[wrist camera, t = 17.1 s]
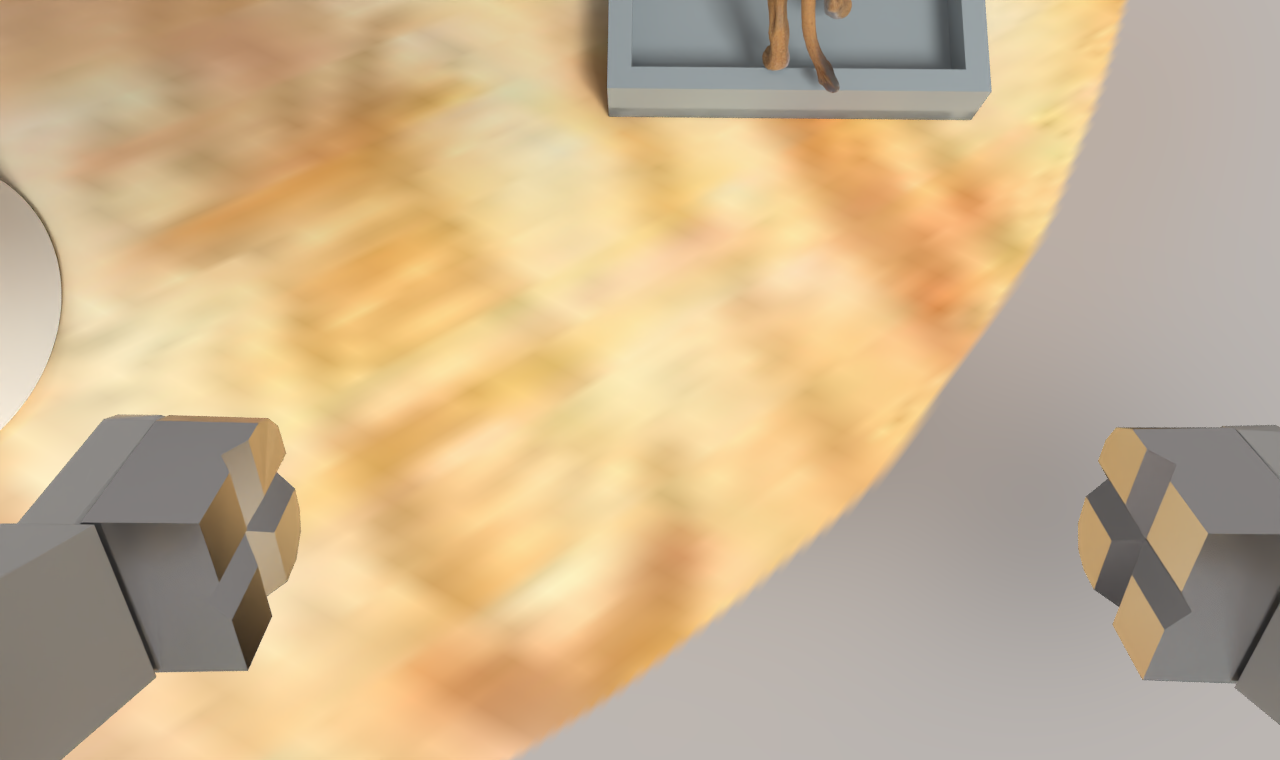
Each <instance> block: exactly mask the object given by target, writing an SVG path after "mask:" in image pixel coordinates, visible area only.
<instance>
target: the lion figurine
mask: <svg viewBox="0 0 1280 760" xmlns="http://www.w3.org/2000/svg"><path fill="white" fill-rule="evenodd" d="M767 1H768V10H769V32H768V34H769V40H770V45H769V46H767V48H766V49H765V51H764V52H763V55H762V60H763V64H764V66H765V68H767V69H768V70H772V71H776V70H782V69H784V68H786V67H787V66H788V64H789V60H790V53H789V49H788V45H789V35H790V34H789V23H788V19H787V0H767ZM815 5H816V0H801V19H802V31H803V37H804V40H805V44H806V48H807V51H808V53H809V55H810V58H811V60H812V62H813V64H814V66H815V69H816V71H817V76H818V82H819V84H821V85H822V86H823V87H824V88H825V89H826V91H828V92H830V93H836V92H838V91H839V89H840V86H839V82H838V80H837V78H836V76H835V74H834V70H833V67H832V65H831V63H830V62H829V61H828V60H827V59H826V57H825V56H824V54H823V52H822V50H821V48H820V45H819V42H818V39H817V33H816V20H815ZM851 8H852V1H851V0H824V12H825V14H826V15H827V16H829V17H831V18H833V19H843V18H845V17H846V16H848V14H849V13H850V11H851Z"/></svg>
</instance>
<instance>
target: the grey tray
mask: <svg viewBox="0 0 1280 760" xmlns="http://www.w3.org/2000/svg"><path fill="white" fill-rule="evenodd" d="M851 1H852V8H851V11H850V13H849V14H848V16H846V17H845V18H843V19H833V18H831V17H829V16H827V15H826V14H825V12H824V0H816V5H815V20H816V33H817V39H818V42H819V45H820V48H821V50H822V52H823V54H824V56H825V57H826V59H827V60H828V61H829V62H830V63H831V65H832V67H833V70H834V74H835V76H836V78H837V80H838V82H839V86H840V89H839V91H838V92H836V93H830V92H828V91H826V89H825V88H824V87H823V86H822V85H821V84H819V82H818V76H817V71H816V69H815V66H814V64H813V62H812V60H811V58H810V55H809V53H808V51H807V48H806V44H805V40H804V37H803V31H802V19H801V0H787V19H788V23H789V34H790V35H789V45H788V49H789V53H790V60H789V64H788V66H787V67H786V68H784V69H782V70H776V71H772V70H768V69H767V68H765V66H764V64H763V60H762V55H763V52H764V51H765V49H766V48H767V46H769V45H770V40H769V34H768V32H769V10H768V1H767V0H609V13H608V69H607V94H608V109H609V117H709V118H817V119H925V120H971V119H972V118H973V116H974V115H975V114H976V112H977V111H978V110H979V108H980V107H981V105H982V104H983V103H984V101H985V100H986V99H987V97H988V96H989V94H990V93H991V78H990V64H989V50H988V36H987V21H986V7H985V0H851Z"/></svg>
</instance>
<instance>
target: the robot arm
mask: <svg viewBox="0 0 1280 760" xmlns="http://www.w3.org/2000/svg"><path fill="white" fill-rule="evenodd" d="M60 312H61V279H60V271H59V266H58V261H57V257H56V254H55V251H54V247H53V245H52V242H51V240H50V237H49V235H48V233H47V231H46V229H45V227H44V225H43V224H42V222H41V220H40V219H39V217H38V216H37V214H36V213H35V212H34V210H33V209H32V208H31V207H30V205H29V204H28V203H27V202H26V201H25V200H24V199H23V198H22V197H21V196H20V195H19V194H18V193H17V192H16V191H15V190H13V189H12V188H11V187H10V186H9V185H7V184H6V183H4V182H3V181H2V180H0V430H1V429H2V428H3V427H4V426H5V425H6V424H7V423H8V422H9V421H10V420H11V419H12V417H13V416H14V415H15V414H16V413H17V412H18V410H19V409H20V408H21V407H22V405H23V404H24V403H25V401H26V400H27V398H28V397H29V395H30V394H31V392H32V391H33V389H34V388H35V386H36V384H37V382H38V381H39V379H40V377H41V375H42V373H43V371H44V369H45V367H46V365H47V362H48V360H49V357H50V355H51V352H52V349H53V346H54V343H55V339H56V335H57V331H58V326H59V320H60ZM285 454H286V451H285V448H284V444H283V441H282V438H281V434H280V431H279V427H278V426H277V425H276V424H275V423H274V422H272V421H271V420H270V419H268V418H243V417H210V416H178V415H169V416H162V415H115V416H112V417H109V418H106V419H104V420H103V421H102V422H101V423H100V424H99V425H98V427H97V428H96V429H95V430H94V431H93V433H92V434H91V435H90V436H89V437H88V439H87V440H86V441H85V442H84V443H83V445H82V446H81V447H80V448H79V449H78V451H77V452H76V453H75V454H74V455H73V457H72V458H71V459H70V460H69V462H68V463H67V464H66V465H65V466H64V468H63V469H62V470H61V471H60V472H59V474H58V475H57V476H56V477H55V478H54V480H53V481H52V482H51V483H50V484H49V486H48V487H47V488H46V489H45V490H44V492H43V493H42V494H41V495H40V497H39V498H38V499H37V500H36V501H35V503H34V504H33V505H32V506H31V507H30V509H29V510H28V511H27V512H26V513H25V515H24V516H23V517H22V518H21V519H20V521H19V522H18V523H17V524H0V760H61V759H63V758H64V757H65V756H66V755H67V754H68V753H69V752H71V751H72V750H73V749H74V748H75V747H76V746H78V745H79V744H80V743H81V742H82V741H83V740H84V739H86V738H87V737H88V736H89V735H90V734H91V733H93V732H94V731H95V730H96V729H97V728H98V727H99V726H101V725H102V724H103V723H104V722H105V721H106V720H107V719H109V718H110V717H111V716H112V715H113V714H114V713H116V712H117V711H118V710H119V709H120V708H121V707H122V706H124V705H125V704H126V703H127V702H128V701H129V700H131V699H132V698H133V697H134V696H135V695H136V694H137V693H139V692H140V691H141V690H142V689H143V688H144V687H146V686H147V685H148V684H149V683H150V682H151V681H152V680H154V679H155V678H156V674H155V672H202V671H248V669H249V667H250V665H251V663H252V660H253V658H254V656H255V654H256V651H257V649H258V647H259V645H260V642H261V640H262V638H263V636H264V633H265V631H266V629H267V627H268V624H269V622H270V620H271V618H272V614H271V610H270V607H269V603H268V600H267V596H268V595H269V594H271V593H272V592H273V591H275V590H276V589H277V588H279V587H280V586H282V585H283V584H284V583H286V582H287V581H288V578H289V576H290V573H291V571H292V569H293V566H294V564H295V561H296V558H297V552H298V546H299V539H300V533H301V525H300V508H299V504H298V500H297V495H296V491H295V488H294V487H292V486H291V485H290V484H289V483H288V482H287V481H286V480H285V479H284V478H282V477H281V476H280V475H279V474H278V473H277V470H278V468H279V466H280V464H281V462H282V460H283V458H284V456H285ZM1098 461H1099V463H1100V465H1101V467H1102V469H1103V471H1104V473H1105V475H1106V476H1107V478H1108V479H1107V480H1106V481H1105V482H1103V483H1102V484H1101V485H1100V486H1098V487H1097V488H1096V489H1095V490H1093V491H1092V492H1091V493H1090V494H1088V495H1087V496H1086V498H1085V502H1084V505H1083V509H1082V512H1081V515H1080V519H1079V522H1078V539H1079V540H1078V545H1079V546H1078V547H1079V548H1078V549H1079V553H1080V557H1081V561H1082V565H1083V568H1084V571H1085V573H1086V575H1087V577H1088V579H1089V581H1090V583H1091V585H1092V587H1093V589H1094V590H1095V591H1097V592H1098V593H1100V594H1101V595H1102V596H1104V597H1105V598H1107V599H1108V600H1110V601H1111V602H1113V603H1114V604H1115V605H1117V606H1118V607H1119V609H1118V612H1117V614H1116V617H1115V620H1114V622H1113V626H1114V628H1115V630H1116V632H1117V634H1118V635H1119V637H1120V639H1121V641H1122V643H1123V645H1124V647H1125V648H1126V650H1127V652H1128V654H1129V656H1130V658H1131V660H1132V661H1133V663H1134V665H1135V667H1136V669H1137V671H1138V673H1139V674H1140V676H1141V678H1142V680H1155V681H1182V682H1210V683H1236V686H1235V688H1236V689H1237V690H1238V691H1239V692H1241V693H1242V694H1243V695H1244V696H1245V697H1247V698H1248V699H1249V700H1250V701H1251V702H1253V703H1254V704H1255V705H1256V706H1257V707H1259V708H1260V709H1261V710H1262V711H1264V712H1265V713H1266V714H1267V715H1269V716H1270V717H1271V718H1272V719H1273V720H1274V721H1276V722H1277V723H1278V724H1279V725H1280V427H1279V426H1276V425H1254V426H1222V427H1220V428H1115V430H1114V431H1113V432H1112V433H1111V435H1110V436H1109V437H1108V438H1107V439H1106V441H1105V444H1104V447H1103V449H1102V452H1101V455H1100V458H1099V460H1098Z"/></svg>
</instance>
